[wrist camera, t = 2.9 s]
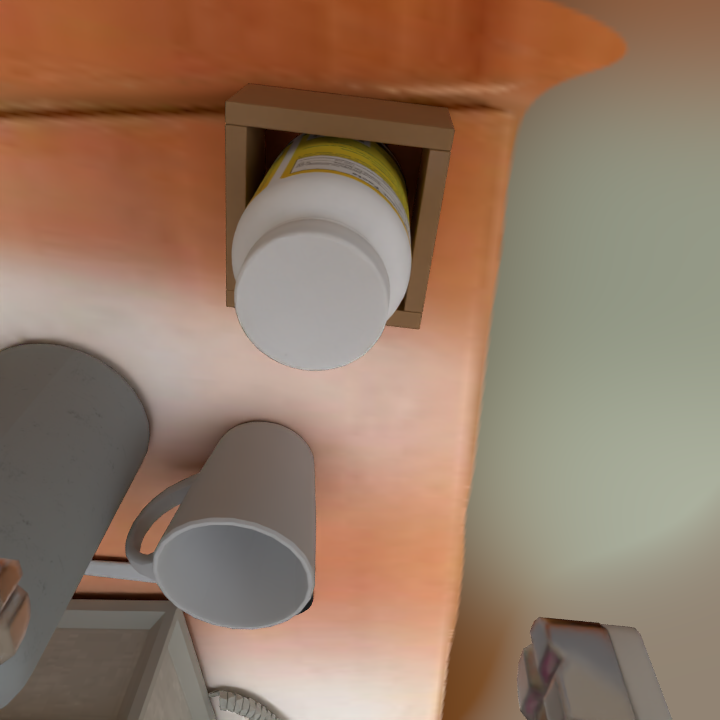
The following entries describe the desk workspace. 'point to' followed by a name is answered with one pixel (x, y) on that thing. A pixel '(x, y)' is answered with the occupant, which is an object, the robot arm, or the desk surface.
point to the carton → (351, 121)
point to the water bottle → (59, 478)
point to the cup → (237, 531)
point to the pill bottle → (323, 252)
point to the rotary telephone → (122, 668)
